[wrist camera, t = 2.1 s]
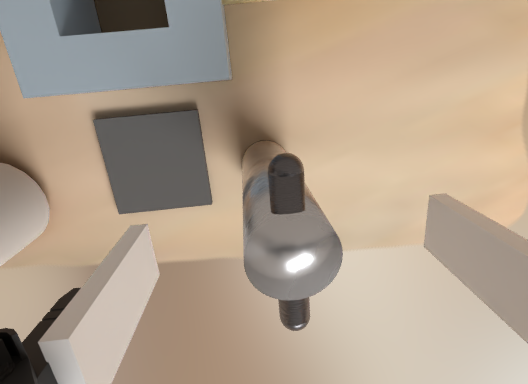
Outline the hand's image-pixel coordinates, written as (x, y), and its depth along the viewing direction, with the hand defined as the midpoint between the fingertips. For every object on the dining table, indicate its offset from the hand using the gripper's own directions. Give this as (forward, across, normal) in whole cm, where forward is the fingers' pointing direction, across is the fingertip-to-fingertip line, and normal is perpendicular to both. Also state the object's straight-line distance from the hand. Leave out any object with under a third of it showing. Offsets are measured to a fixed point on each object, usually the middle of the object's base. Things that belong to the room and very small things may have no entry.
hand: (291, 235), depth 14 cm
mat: (+13, -9, +1) cm, 16 cm away
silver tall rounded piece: (+13, 0, 0) cm, 13 cm away
